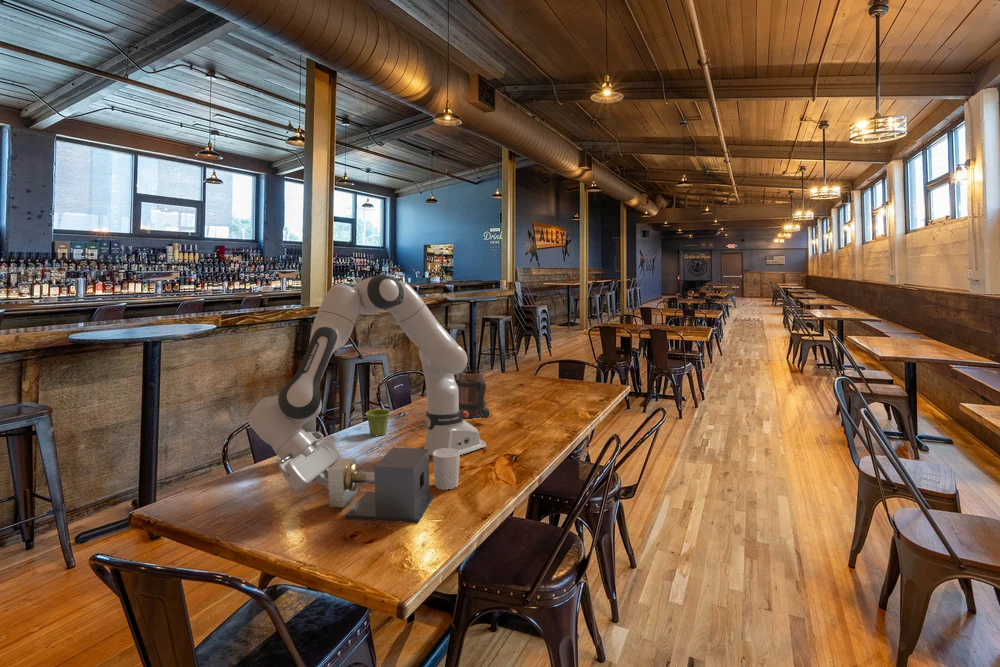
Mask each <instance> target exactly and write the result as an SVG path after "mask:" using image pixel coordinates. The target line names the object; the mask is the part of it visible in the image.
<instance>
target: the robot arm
mask: <svg viewBox="0 0 1000 667" xmlns="http://www.w3.org/2000/svg"><path fill="white" fill-rule="evenodd" d="M385 310H387V311H388V312H389V313H390V314H391V315H392V316H393V318H394V320H395V321H396V323H397V324H398V326H399V327H400V328H401V329H402V331H403V333H405V335H406V336H407V338H408V339H409V341H411V342H412V343H413V344H414V345H415V346H416V347H417V348H418V357H419V360H420V362H421V366H422V371H423V372H422V373H423V377H424V382H425V387H426V407H427V409H426V411H425V413H426V414H425V423H426V424H425V426H426V435H425V436H426V437H425V443H424V447H423V449H429V456H432V457H433V452H434V451H435V450H438V449H442V448H453V449H457V450H459V451H460V455H462V456H464V455H463V454H466V453H469V452H471V451H474V450H477V449H480V448H483V447H486V448H487V443H486V442H485V441H484V440H482V439H481V437H480V434H479V431H478V429H477V428H476V427H475V426H474V425H472V424H471V423H469V422H467V421H465V420H464V419H463V417H465V418H467V417H468V416H469V413H468V412H466V411H461V410H459V390H458V385H457V382H456V378H455V376H456V375H459V373H461V372H462V371H465V369H466V367H467V365H468V362H469V361H468V355H467V352H466V351H465V349H464V348H462V347H461V346H460V345H459V344H458V342H457V341H456V340H455V339H454V338H453V336H452V335H451V334H449V332H448V331H447V330H446V329H445V328H444V327H443V326H442V325H441V324H440V322H439V321H438V320H437V319H436V317H435V316H434V315H433V313H432V311H431V310H430V309H429V308H428V306H427V304H426V303H425V302H424V300H423V299H422V298H421V297H420V295H419V294H418V293H417V291H416V290H415V289H414V288H413V287H412V286H411V285H410V284H409V283H408V282H406V281H400V280H399V281H398V280H397V279H396V278H395V277H393V276H391V275H388V274H378V275H377V274H376V275H374V276H371V277H368V278H365V279H363V280H362V281H359V282H358V283H355V284H353V285H351V286H350V285H347V284H336V285H334V286H331V288H330V289H329V290H328V292H327V294H326V295H325V296H324V298H323V299H322V301H321V304H320V306H319V307H318V310H317V313H316V315H315V318H314V321H313V323H312V327H311V333H310V337H309V343H308V347H307V349H306V350H305V353H304V356H303V358H302V359H301V362H300V364H299V367H298V369H297V371H296V373H295V374H294V375H293V377H292V378H290V380H288V382H287V383H285V384H284V386H283V387H281V390H279V391H280V392H279V394H278V395H274V396H268V397H267V396H265V397H263V398H260V400H258V401H257V402H256V403H255V404H254V405H253V407H252V408H251V409H250V412H249V413H248V415H247V416H248V417H247V421H248V424H249V426H250V427H251V428H252V430H253V431H254V432H255V433H256V435H257V436H258V437H260V439H261V440H262V441H263V442H264V443H266V444H268V446H270V447H271V448H272V449H273V451H274V453H275V454H276V455H277V457H279V458H280V460H278V469H279V470H280V472H281V474H282V477H283V478H284V479H285V480H286V482H287V483H288V484H289V485H290V486H291V488H292V489H293V490H294V491H296V492H298V493H299V492H302V491H303V490H304V489H305V488H307V486H309V485H310V484H311V483H313V482H314V481H315V482H316V483H317V484H319V485H321V486H324V487H325V488H326V489H327V490H329V483H328V469H329V468H330V467H331V466H333V465H334V464H335V463H336V462H338V461H339V460H340V459H341V455H340V452H339V451H338V450H337V449H336V447H335V446H333V444H331V443H330V442H329V441H328V440H327V439H325V438H324V434H322V432H321V431H316V432H305V431H304V430H303V429H302V426H303V425H305V424H307V423H308V422H310V421H312V420H314V419H315V418H316V419H317V418H318V416H319V414H320V413H321V411H322V409H323V408H322V406H323V405H322V404H323V403H322V402H323V401H322V397H321V380H322V378H323V376H324V373H325V371H326V369H327V367H328V364H329V361H330V359H331V357H332V355H333V354H334V353H335V351H336V350H339V349H342V348H343V347H345V345H346V343H347V342H348V340H349V338H350V336H352V333H353V330H354V327H355V325H356V321H357V318H358V316H359V317H365V316H369V315H376V314H378V313H381V312H384V311H385ZM469 454H470V453H469ZM466 455H467V454H466Z"/></svg>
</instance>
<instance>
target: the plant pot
mask: <svg viewBox="0 0 1000 667" xmlns="http://www.w3.org/2000/svg"><path fill="white" fill-rule="evenodd" d="M390 413H391V411H390V410H387V409H379V408H378V409H373V410H368V411H366V412H365V415H366V418H367V422H368V428H369V434H370V435H371V436H372V435H374V436H373V437H379V436H385V435H387V431H388V421H389V416H390ZM384 434H385V435H384ZM376 435H377V436H376ZM378 435H379V436H378Z"/></svg>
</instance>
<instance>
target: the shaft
mask: <svg viewBox="0 0 1000 667" xmlns="http://www.w3.org/2000/svg"><path fill="white" fill-rule="evenodd" d="M356 460H357V459H356V458H345V457H342V458H341V457H340V459H339V460H338V461H337V462H336V463H335V464H334V465H332V466H331V467H330V468H329V469H328V483H329V489H328V498H329V499H328V502H329V504H328V506H329V508H330V507H332V508H345V507H346V506H347V505H348V504H349V503H350V502H351V501H352V500H353V499H354V498H355V497H357V496H356V495H357V493H358V492H357V491H358V487H359V485H361V484H363V485H365V484H366V485H375V475H374V471H361V467H360V465H359V464H358V463H357V462H356Z"/></svg>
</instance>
